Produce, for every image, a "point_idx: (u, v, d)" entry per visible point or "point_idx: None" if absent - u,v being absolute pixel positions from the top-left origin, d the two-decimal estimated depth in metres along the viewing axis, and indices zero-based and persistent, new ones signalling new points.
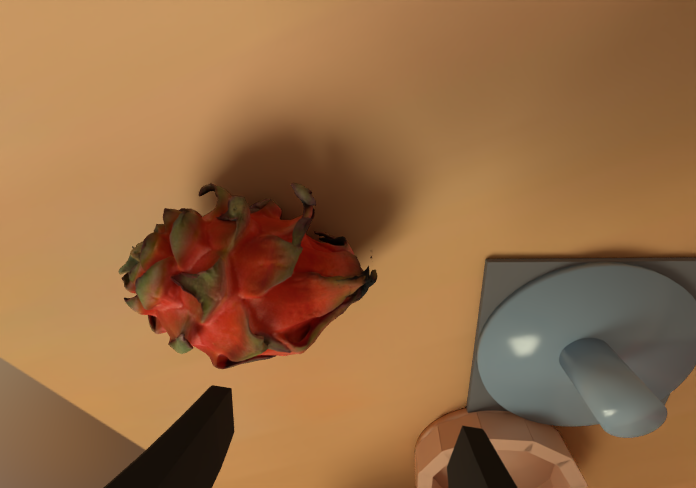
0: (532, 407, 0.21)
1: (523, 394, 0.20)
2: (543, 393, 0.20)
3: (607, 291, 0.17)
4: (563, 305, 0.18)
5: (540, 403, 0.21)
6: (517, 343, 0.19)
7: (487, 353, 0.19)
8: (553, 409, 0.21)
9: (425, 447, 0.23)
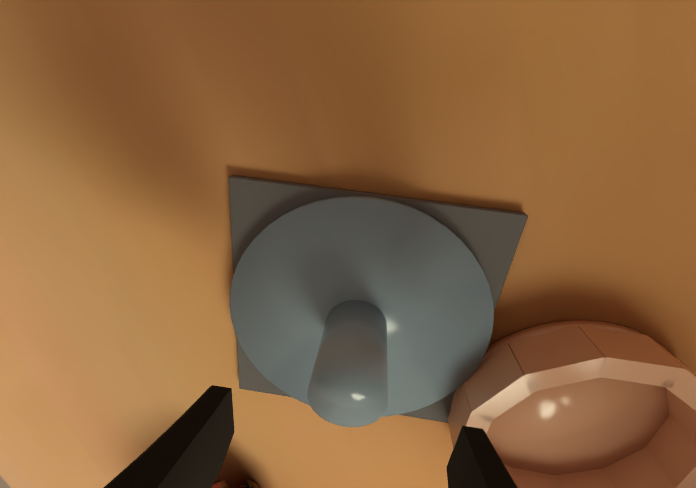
0: (441, 375, 0.15)
1: (414, 382, 0.16)
2: (417, 364, 0.15)
3: (260, 309, 0.15)
4: (279, 345, 0.16)
5: (435, 367, 0.15)
6: None
7: None
8: (449, 355, 0.15)
9: None
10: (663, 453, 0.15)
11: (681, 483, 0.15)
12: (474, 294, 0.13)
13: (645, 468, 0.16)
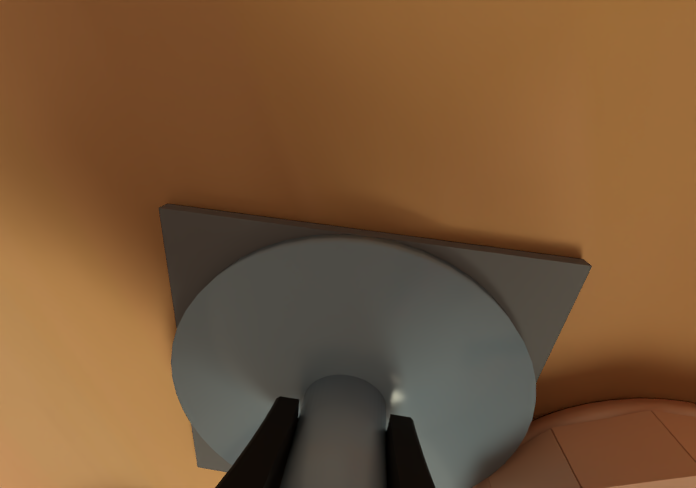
0: (459, 467, 0.11)
1: None
2: (426, 453, 0.11)
3: (214, 382, 0.11)
4: (242, 425, 0.12)
5: (451, 458, 0.11)
6: None
7: None
8: (471, 444, 0.11)
9: None
10: None
11: None
12: (509, 371, 0.09)
13: None
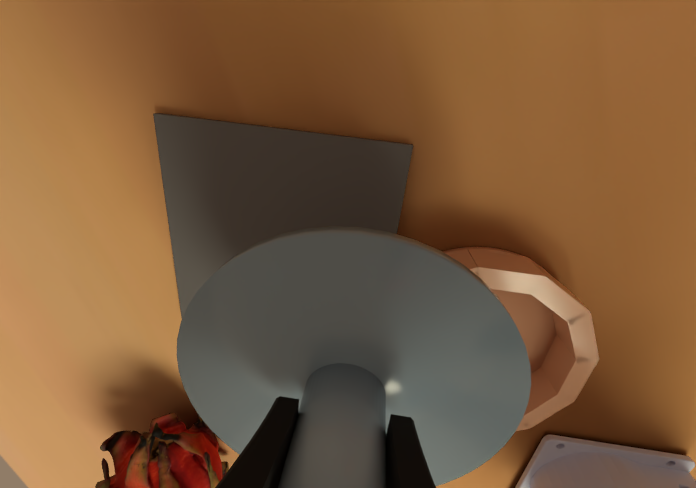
0: (459, 451, 0.12)
1: None
2: (427, 438, 0.12)
3: (218, 374, 0.11)
4: (247, 415, 0.12)
5: (451, 442, 0.12)
6: None
7: None
8: (470, 428, 0.11)
9: None
10: (551, 368, 0.17)
11: (561, 390, 0.17)
12: (504, 355, 0.10)
13: (538, 383, 0.18)
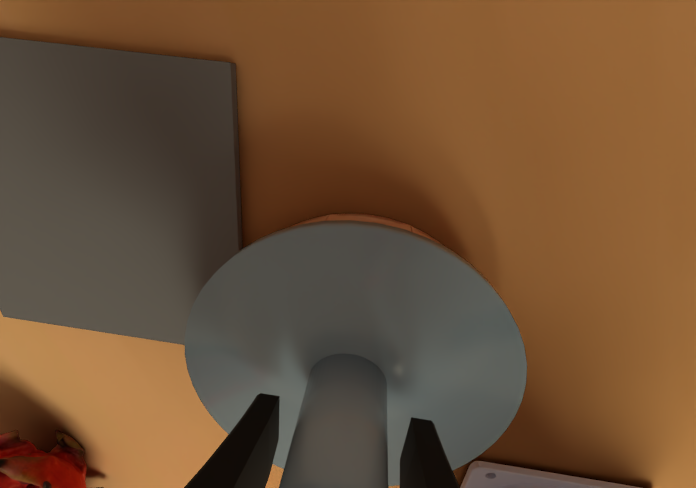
0: (463, 437, 0.12)
1: None
2: None
3: (225, 370, 0.12)
4: None
5: (454, 428, 0.12)
6: None
7: None
8: (471, 413, 0.11)
9: None
10: None
11: None
12: (498, 338, 0.10)
13: None
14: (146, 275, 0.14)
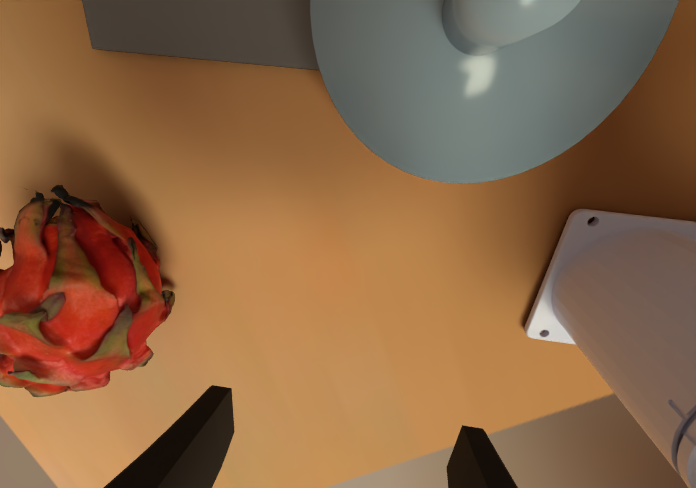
0: (601, 79, 0.11)
1: (561, 101, 0.12)
2: (567, 65, 0.11)
3: (351, 8, 0.11)
4: (376, 72, 0.12)
5: (594, 66, 0.11)
6: (443, 129, 0.13)
7: (460, 171, 0.13)
8: (617, 36, 0.11)
9: None
10: None
11: None
12: None
13: None
14: None
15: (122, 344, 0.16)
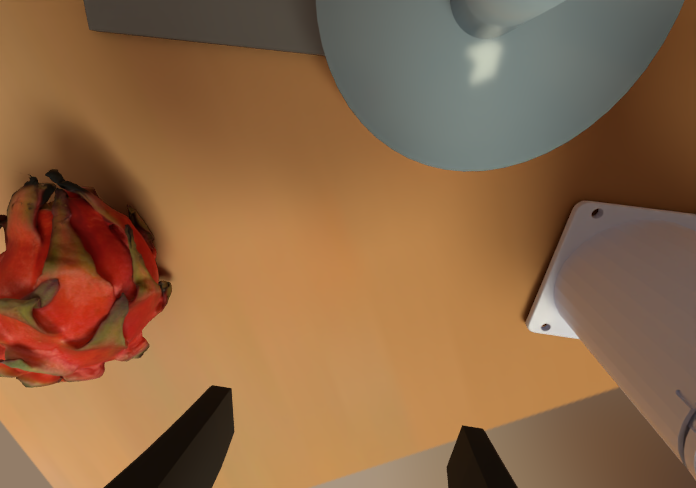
0: (611, 65, 0.11)
1: (569, 87, 0.12)
2: (577, 49, 0.11)
3: None
4: (381, 54, 0.12)
5: (603, 50, 0.11)
6: (449, 115, 0.12)
7: (465, 158, 0.13)
8: (628, 20, 0.11)
9: None
10: None
11: None
12: None
13: None
14: None
15: (118, 333, 0.15)
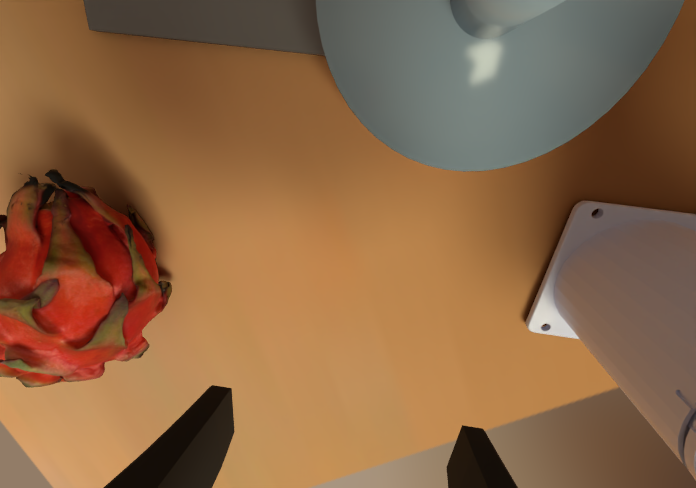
0: (611, 65, 0.11)
1: (569, 87, 0.12)
2: (577, 49, 0.11)
3: None
4: (381, 54, 0.12)
5: (603, 50, 0.11)
6: (449, 115, 0.12)
7: (465, 158, 0.13)
8: (628, 20, 0.11)
9: None
10: None
11: None
12: None
13: None
14: None
15: (117, 333, 0.15)
